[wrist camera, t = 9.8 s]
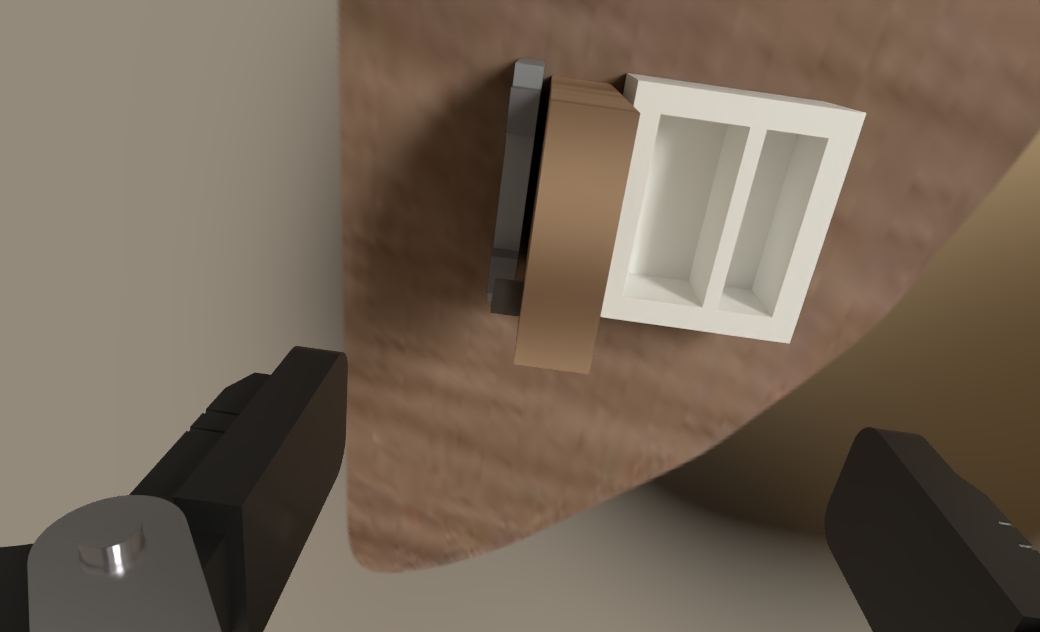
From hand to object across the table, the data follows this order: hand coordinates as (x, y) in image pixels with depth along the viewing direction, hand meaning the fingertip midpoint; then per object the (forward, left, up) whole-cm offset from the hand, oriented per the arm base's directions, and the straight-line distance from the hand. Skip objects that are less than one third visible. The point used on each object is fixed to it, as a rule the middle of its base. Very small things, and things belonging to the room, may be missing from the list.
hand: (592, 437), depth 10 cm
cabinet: (0, +4, -20) cm, 20 cm away
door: (0, 0, -20) cm, 20 cm away
